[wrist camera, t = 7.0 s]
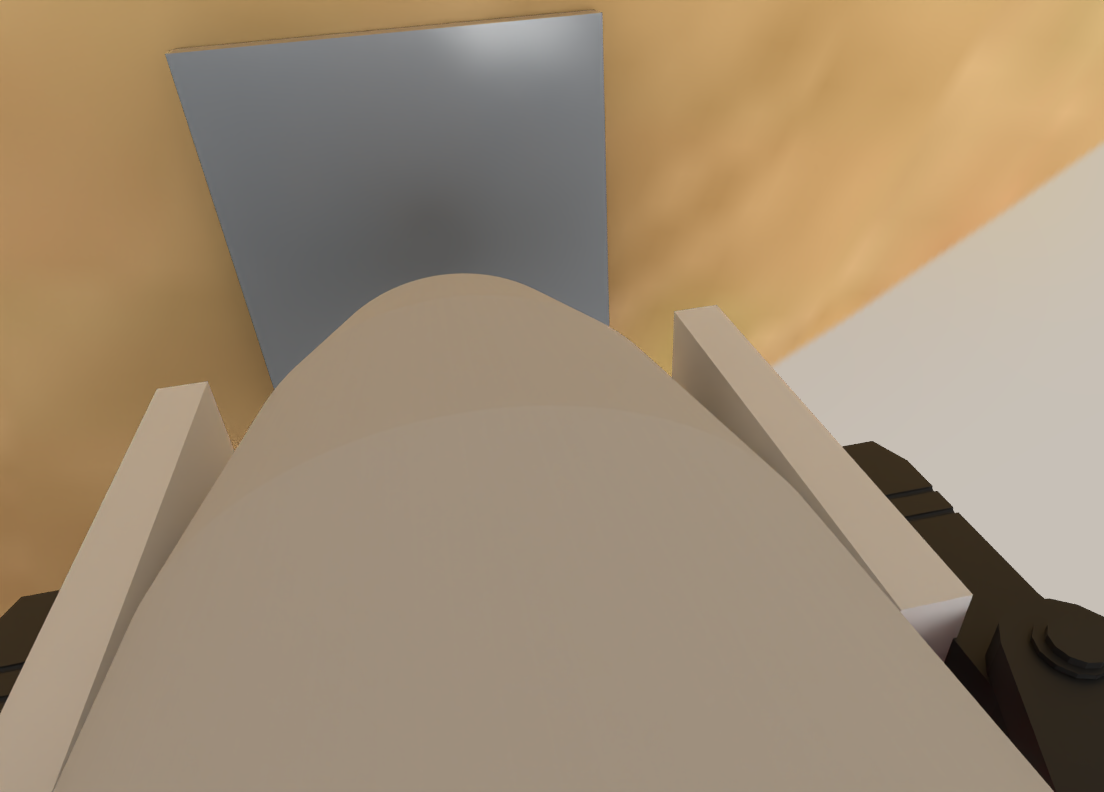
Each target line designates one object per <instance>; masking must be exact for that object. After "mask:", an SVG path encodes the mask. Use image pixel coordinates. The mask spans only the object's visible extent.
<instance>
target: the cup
mask: <svg viewBox="0 0 1104 792" xmlns="http://www.w3.org/2000/svg"><path fill="white" fill-rule="evenodd" d="M53 792H1054V791H1053V790H1052V789H1051V788H1050V786H1049V785H1048V784H1047V783H1046V782H1045V781H1044V779H1043V778H1042V777H1041V776H1040V775H1039V774H1038V772H1037V771H1036V770H1035V769H1034V768H1033V767H1032V765H1031V764H1030V763H1029V762H1028V761H1027V759H1026V758H1025V757H1024V756H1023V755H1022V754H1021V752H1020V751H1019V750H1018V749H1017V748H1016V747H1015V745H1014V744H1013V743H1012V742H1011V741H1010V740H1009V738H1008V737H1007V736H1006V735H1005V734H1004V733H1003V731H1002V730H1001V729H1000V728H999V727H998V726H997V724H996V723H995V722H994V721H993V720H992V719H991V717H990V716H989V715H988V714H987V713H986V712H985V710H984V709H983V708H982V707H981V706H980V705H979V703H978V702H977V701H976V700H975V699H974V698H973V696H972V695H971V694H970V693H969V692H968V690H967V689H966V688H965V687H964V686H963V685H962V683H961V682H960V681H959V680H958V679H957V678H956V676H955V675H954V674H953V673H952V672H951V671H950V669H949V668H948V667H947V666H946V665H945V664H944V662H943V661H942V660H941V659H940V658H939V657H938V655H937V654H936V653H935V652H934V651H933V650H932V648H931V647H930V646H929V645H928V644H927V643H926V641H925V640H924V639H923V638H922V637H921V636H920V634H919V633H918V632H917V631H916V630H915V629H914V627H913V626H912V625H911V624H910V623H909V621H908V620H907V619H906V618H905V617H904V616H903V614H902V613H901V612H900V611H899V610H898V609H897V607H896V606H895V605H894V604H893V603H892V602H891V600H890V599H889V598H888V597H887V596H886V595H885V593H884V592H883V591H882V590H881V589H880V588H879V586H878V585H877V584H876V583H875V582H874V581H873V579H872V578H871V577H870V576H869V575H868V574H867V572H866V571H865V570H864V569H863V568H862V567H861V565H860V564H859V563H858V562H857V561H856V560H855V558H854V557H853V556H852V555H851V554H850V552H849V551H848V550H847V549H846V548H845V547H844V545H843V544H842V543H841V542H840V541H839V540H838V538H837V537H836V536H835V535H834V534H833V533H832V531H831V530H830V529H829V528H828V527H827V526H826V524H825V523H824V522H823V521H822V520H821V519H820V517H819V516H818V515H817V514H816V513H815V512H814V510H813V509H812V508H811V507H810V506H809V505H808V503H807V502H806V501H805V500H804V499H803V498H802V496H801V495H800V494H799V493H798V492H797V491H796V490H795V489H794V488H793V487H792V486H791V485H790V484H789V483H788V482H787V481H786V480H785V479H784V478H783V477H782V476H781V475H779V474H778V473H777V472H776V471H775V470H774V469H773V468H772V467H771V466H769V465H768V464H767V463H766V462H765V461H764V460H763V459H762V458H761V457H759V456H758V455H757V454H756V453H755V452H754V451H753V450H752V449H751V448H749V447H748V446H747V445H746V444H745V443H744V442H743V441H742V440H741V439H739V438H738V437H737V436H736V435H735V434H734V433H733V432H732V431H731V430H729V429H728V428H727V427H726V426H725V425H724V424H723V423H722V422H721V421H719V420H718V419H717V418H716V417H715V416H714V415H713V414H712V413H711V412H709V411H708V410H707V409H706V408H705V407H704V406H703V405H702V404H700V403H699V402H698V401H697V400H696V399H695V398H694V397H693V396H692V395H690V394H689V393H688V392H687V391H686V390H685V389H684V388H683V387H682V386H680V385H679V384H678V383H677V382H676V381H675V380H674V379H673V378H672V377H670V376H669V375H668V374H667V373H666V372H665V371H664V370H663V369H662V368H660V367H659V366H658V365H657V364H656V363H655V362H654V361H653V360H652V359H650V358H649V357H648V356H647V355H646V354H645V353H644V352H643V351H642V350H640V349H639V348H638V347H637V346H636V345H635V344H633V343H632V342H631V341H630V340H628V339H627V338H626V337H624V336H623V335H621V334H620V333H618V332H617V331H615V330H614V329H612V328H610V327H609V326H607V325H605V324H603V323H602V322H600V321H598V320H596V319H594V318H592V317H590V316H588V315H586V314H584V313H582V312H580V311H577V310H575V309H573V308H571V307H569V306H567V305H565V304H563V303H561V302H559V301H557V300H555V299H553V298H551V297H549V296H547V295H545V294H543V293H541V292H539V291H537V290H535V289H533V288H531V287H528V286H526V285H524V284H521V283H518V282H515V281H512V280H509V279H505V278H501V277H496V276H490V275H483V274H468V273H460V274H445V275H437V276H431V277H427V278H422V279H419V280H415V281H412V282H409V283H406V284H403V285H400V286H398V287H396V288H393V289H391V290H389V291H387V292H385V293H383V294H381V295H379V296H378V297H376V298H374V299H373V300H371V301H370V302H368V303H367V304H365V305H364V306H363V307H361V308H360V309H359V310H358V311H356V312H355V313H354V314H353V315H352V316H351V317H350V318H349V319H348V320H346V321H345V322H344V323H343V324H342V325H341V326H340V327H339V328H338V329H336V330H335V331H334V332H333V333H332V334H331V335H330V336H329V337H328V338H327V339H325V340H324V341H323V342H322V343H321V344H320V345H319V346H318V347H317V348H316V349H314V350H313V351H312V352H311V353H310V354H309V355H308V356H307V357H306V358H305V359H303V360H302V361H301V362H300V363H299V364H298V365H297V366H296V367H295V368H294V369H293V370H292V371H291V372H290V373H289V374H288V375H287V376H286V377H285V378H284V379H283V380H282V381H281V382H280V383H279V385H278V386H277V387H276V388H275V390H274V391H273V392H272V393H271V395H270V396H269V397H268V399H267V400H266V402H265V403H264V405H263V406H262V408H261V410H260V411H259V413H258V414H257V416H256V418H255V419H254V421H253V422H252V424H251V426H250V427H249V429H248V431H247V432H246V434H245V435H244V437H243V439H242V440H241V442H240V443H239V445H238V447H237V448H236V450H235V451H234V453H233V455H232V456H231V458H230V459H229V461H228V463H227V464H226V466H225V467H224V469H223V471H222V472H221V474H220V476H219V477H218V479H217V480H216V482H215V484H214V485H213V487H212V488H211V490H210V492H209V493H208V495H207V496H206V498H205V500H204V501H203V503H202V504H201V506H200V508H199V509H198V511H197V512H196V514H195V516H194V517H193V519H192V521H191V522H190V524H189V525H188V527H187V529H186V530H185V532H184V533H183V535H182V537H181V538H180V540H179V541H178V543H177V545H176V546H175V548H174V549H173V551H172V553H171V554H170V556H169V557H168V559H167V561H166V562H165V564H164V566H163V567H162V569H161V570H160V572H159V574H158V575H157V577H156V578H155V580H154V582H153V583H152V585H151V586H150V588H149V590H148V591H147V593H146V594H145V596H144V598H143V599H142V601H141V603H140V604H139V606H138V608H137V610H136V612H135V614H134V616H133V618H132V620H131V622H130V624H129V626H128V629H127V631H126V633H125V635H124V637H123V640H122V642H121V644H120V646H119V648H118V651H117V653H116V655H115V657H114V659H113V662H112V664H111V666H110V668H109V670H108V673H107V675H106V677H105V679H104V681H103V684H102V686H101V688H100V690H99V692H98V695H97V697H96V699H95V701H94V703H93V706H92V708H91V710H90V712H89V714H88V717H87V719H86V721H85V723H84V725H83V728H82V730H81V732H80V734H79V736H78V738H77V741H76V743H75V745H74V747H73V749H72V752H71V754H70V756H69V758H68V760H67V763H66V765H65V767H64V769H63V771H62V774H61V776H60V778H59V780H58V782H57V785H56V787H55V789H54V791H53Z"/></svg>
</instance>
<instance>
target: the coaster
mask: <svg viewBox="0 0 1104 792" xmlns="http://www.w3.org/2000/svg"><path fill="white" fill-rule="evenodd" d="M165 55H166V58H167V61H168V64H169V68H170V71H171V74H172V77H173V80H174V83H175V86H176V89H177V92H178V95H179V98H180V101H181V104H182V108H183V111H184V114H185V117H186V120H187V123H188V126H189V129H190V132H191V135H192V138H193V141H194V144H195V147H196V151H197V154H198V157H199V160H200V163H201V166H202V169H203V172H204V175H205V178H206V181H207V184H208V187H209V190H210V194H211V197H212V200H213V203H214V206H215V209H216V212H217V215H218V218H219V221H220V224H221V227H222V230H223V233H224V237H225V240H226V243H227V246H228V249H229V252H230V255H231V258H232V261H233V264H234V267H235V270H236V273H237V277H238V280H239V283H240V286H241V289H242V292H243V295H244V298H245V301H246V304H247V307H248V310H249V313H250V316H251V320H252V323H253V326H254V329H255V332H256V335H257V338H258V341H259V344H260V347H261V350H262V353H263V356H264V359H265V363H266V366H267V369H268V372H269V375H270V378H271V381H272V384H273V387H274V390H275V388H276V387H277V386H278V385H279V383H280V382H281V381H282V380H283V379H284V378H285V377H286V376H287V375H288V374H289V373H290V372H291V371H292V370H293V369H294V368H295V367H296V366H297V365H298V364H299V363H300V362H301V361H302V360H303V359H305V358H306V357H307V356H308V355H309V354H310V353H311V352H312V351H313V350H314V349H316V348H317V347H318V346H319V345H320V344H321V343H322V342H323V341H324V340H325V339H327V338H328V337H329V336H330V335H331V334H332V333H333V332H334V331H335V330H336V329H338V328H339V327H340V326H341V325H342V324H343V323H344V322H345V321H346V320H348V319H349V318H350V317H351V316H352V315H353V314H354V313H355V312H356V311H358V310H359V309H360V308H361V307H363V306H364V305H365V304H367V303H368V302H370V301H371V300H373V299H374V298H376V297H378V296H379V295H381V294H383V293H385V292H387V291H389V290H391V289H393V288H396V287H398V286H400V285H403V284H406V283H409V282H412V281H415V280H419V279H422V278H427V277H431V276H437V275H445V274H460V273H468V274H483V275H490V276H496V277H501V278H505V279H509V280H512V281H515V282H518V283H521V284H524V285H526V286H528V287H531V288H533V289H535V290H537V291H539V292H541V293H543V294H545V295H547V296H549V297H551V298H553V299H555V300H557V301H559V302H561V303H563V304H565V305H567V306H569V307H571V308H573V309H575V310H577V311H580V312H582V313H584V314H586V315H588V316H590V317H592V318H594V319H596V320H598V321H600V322H602V323H603V324H605V325H607V326H609V294H608V249H607V203H606V158H605V112H604V66H603V21H602V12H599V11H596V10H584V11H574V12H563V13H553V14H542V15H531V16H521V17H510V18H499V19H489V20H478V21H467V22H457V23H446V24H435V25H425V26H414V27H403V28H393V29H382V30H371V31H361V32H350V33H339V34H329V35H318V36H308V37H297V38H286V39H276V40H265V41H254V42H244V43H233V44H222V45H212V46H201V47H190V48H180V49H173V50H171V51H169V52H168V53H166V54H165Z"/></svg>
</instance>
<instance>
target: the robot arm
mask: <svg viewBox="0 0 1104 792" xmlns="http://www.w3.org/2000/svg"><path fill="white" fill-rule="evenodd" d="M672 378H673V379H674V380H675V381H676V382H677V383H678V384H679V385H680V386H682V387H683V388H684V389H685V390H686V391H687V392H688V393H689V394H690V395H692V396H693V397H694V398H695V399H696V400H697V401H698V402H699V403H700V404H702V405H703V406H704V407H705V408H706V409H707V410H708V411H709V412H711V413H712V414H713V415H714V416H715V417H716V418H717V419H718V420H719V421H721V422H722V423H723V424H724V425H725V426H726V427H727V428H728V429H729V430H731V431H732V432H733V433H734V434H735V435H736V436H737V437H738V438H739V439H741V440H742V441H743V442H744V443H745V444H746V445H747V446H748V447H749V448H751V449H752V450H753V451H754V452H755V453H756V454H757V455H758V456H759V457H761V458H762V459H763V460H764V461H765V462H766V463H767V464H768V465H769V466H771V467H772V468H773V469H774V470H775V471H776V472H777V473H778V474H779V475H781V476H782V477H783V478H784V479H785V480H786V481H787V482H788V483H789V484H790V485H791V486H792V487H793V488H794V489H795V490H796V491H797V492H798V493H799V494H800V495H801V496H802V498H803V499H804V500H805V501H806V502H807V503H808V505H809V506H810V507H811V508H812V509H813V510H814V512H815V513H816V514H817V515H818V516H819V517H820V519H821V520H822V521H823V522H824V523H825V524H826V526H827V527H828V528H829V529H830V530H831V531H832V533H833V534H834V535H835V536H836V537H837V538H838V540H839V541H840V542H841V543H842V544H843V545H844V547H845V548H846V549H847V550H848V551H849V552H850V554H851V555H852V556H853V557H854V558H855V560H856V561H857V562H858V563H859V564H860V565H861V567H862V568H863V569H864V570H865V571H866V572H867V574H868V575H869V576H870V577H871V578H872V579H873V581H874V582H875V583H876V584H877V585H878V586H879V588H880V589H881V590H882V591H883V592H884V593H885V595H886V596H887V597H888V598H889V599H890V600H891V602H892V603H893V604H894V605H895V606H896V607H897V609H898V610H899V611H900V612H901V613H902V614H903V616H904V617H905V618H906V619H907V620H908V621H909V623H910V624H911V625H912V626H913V627H914V629H915V630H916V631H917V632H918V633H919V634H920V636H921V637H922V638H923V639H924V640H925V641H926V643H927V644H928V645H929V646H930V647H931V648H932V650H933V651H934V652H935V653H936V654H937V655H938V657H939V658H940V659H941V660H942V661H943V662H944V664H945V665H946V666H947V667H948V668H949V669H950V671H951V672H952V673H953V674H954V675H955V676H956V678H957V679H958V680H959V681H960V682H961V683H962V685H963V686H964V687H965V688H966V689H967V690H968V692H969V693H970V694H971V695H972V696H973V698H974V699H975V700H976V701H977V702H978V703H979V705H980V706H981V707H982V708H983V709H984V710H985V712H986V713H987V714H988V715H989V716H990V717H991V719H992V720H993V721H994V722H995V723H996V724H997V726H998V727H999V728H1000V729H1001V730H1002V731H1003V733H1004V734H1005V735H1006V736H1007V737H1008V738H1009V740H1010V741H1011V742H1012V743H1013V744H1014V745H1015V747H1016V748H1017V749H1018V750H1019V751H1020V752H1021V754H1022V755H1023V756H1024V757H1025V758H1026V759H1027V761H1028V762H1029V763H1030V764H1031V765H1032V767H1033V768H1034V769H1035V770H1036V771H1037V772H1038V774H1039V775H1040V776H1041V777H1042V778H1043V779H1044V781H1045V782H1046V783H1047V784H1048V785H1049V786H1050V788H1051V789H1052V790H1053V791H1054V792H1104V617H1103V616H1101V615H1098V614H1096V613H1094V612H1092V611H1090V610H1088V609H1086V608H1083V607H1081V606H1079V605H1076V604H1071V603H1067V602H1062V601H1057V600H1053V599H1044V598H1043V597H1042V596H1041V595H1039V594H1038V593H1037V592H1036V591H1035V590H1034V589H1033V588H1032V587H1031V586H1030V585H1029V584H1028V583H1027V582H1026V581H1025V580H1024V579H1023V578H1022V577H1021V576H1020V575H1019V574H1018V573H1017V572H1016V571H1015V570H1014V569H1013V568H1012V567H1011V565H1009V563H1007V561H1005V560H1004V558H1003V557H1002V556H1001V555H1000V554H999V553H998V552H997V551H996V550H995V549H994V548H993V547H992V546H991V545H990V544H989V543H988V542H987V541H986V540H985V539H984V538H983V537H982V536H981V535H980V534H979V533H978V532H977V531H976V530H975V529H974V528H973V527H972V526H971V525H970V524H969V523H968V522H967V521H966V520H965V519H964V518H963V517H962V516H961V515H960V514H959V513H954V511H953V507H952V506H951V504H950V503H949V502H947V501H946V499H945V498H943V496H942V495H941V494H940V493H939V492H938V491H935V492H934V491H933V489H932V485H931V484H930V483H929V482H928V481H927V480H926V479H925V478H924V477H923V476H922V475H921V474H920V473H919V472H918V471H917V470H916V469H915V468H914V467H913V466H912V465H911V464H910V463H909V462H908V461H907V460H905V459H904V458H902V457H900V456H898V455H896V454H895V453H893V452H891V451H889V450H887V449H886V448H884V447H882V446H880V445H878V444H877V443H875V442H873V441H870V442H865V443H860V444H854V445H848V446H843V447H842V446H841V445H840V444H839V443H838V442H837V441H836V439H835V438H834V437H833V436H832V435H831V434H830V433H829V431H828V430H827V429H826V428H825V427H824V426H823V425H822V424H821V423H820V421H819V420H818V419H817V418H816V417H815V416H814V415H813V413H812V412H811V411H810V410H809V409H808V408H807V407H806V406H805V405H804V403H803V402H802V401H801V400H800V399H799V398H798V396H797V395H796V394H795V393H794V392H793V391H792V390H791V389H790V388H789V386H788V385H787V384H786V383H785V382H784V381H783V380H782V378H781V377H780V376H779V375H778V374H777V373H776V372H775V371H774V369H773V368H772V367H771V366H770V365H769V364H768V363H767V361H766V360H765V359H764V358H763V357H762V356H761V355H760V353H759V352H758V351H757V350H756V349H755V348H754V347H753V346H752V344H751V343H750V342H749V341H748V340H747V339H746V338H745V337H744V335H743V334H742V333H741V332H740V331H739V330H738V329H737V327H736V326H735V325H734V324H733V323H732V322H731V321H730V320H729V318H728V317H727V316H726V315H725V314H724V313H723V312H722V311H721V309H720V308H719V307H718V306H717V305H713V306H706V307H700V308H693V309H686V310H679V311H674V334H673V364H672ZM233 453H234V449H233V446H232V444H231V441H230V438H229V436H228V433H227V430H226V428H225V425H224V423H223V420H222V417H221V415H220V412H219V410H218V407H217V404H216V402H215V399H214V397H213V394H212V391H211V389H210V386H209V383H208V381H206V382H199V383H193V384H186V385H179V386H173V387H166V388H159V389H157V390H156V392H155V394H154V396H153V398H152V400H151V402H150V404H149V406H148V408H147V410H146V413H145V415H144V417H143V419H142V421H141V423H140V425H139V427H138V429H137V431H136V433H135V435H134V437H133V440H132V442H131V444H130V446H129V448H128V450H127V452H126V454H125V456H124V458H123V460H122V462H121V464H120V466H119V469H118V471H117V473H116V475H115V477H114V479H113V481H112V483H111V485H110V487H109V489H108V491H107V493H106V495H105V498H104V500H103V502H102V504H101V506H100V508H99V510H98V512H97V514H96V516H95V518H94V520H93V522H92V525H91V527H90V529H89V531H88V533H87V535H86V537H85V539H84V541H83V543H82V545H81V547H80V549H79V551H78V554H77V556H76V558H75V560H74V562H73V564H72V566H71V568H70V570H69V572H68V574H67V576H66V578H65V580H64V583H63V585H62V587H61V589H60V590H58V591H52V592H47V593H41V594H36V595H30V596H24V597H21V598H20V599H19V600H18V601H17V602H16V603H15V604H14V605H13V606H12V607H11V608H10V609H9V610H8V611H7V612H6V613H5V614H4V615H3V616H2V617H1V618H0V792H53V791H54V789H55V787H56V785H57V782H58V780H59V778H60V776H61V774H62V771H63V769H64V767H65V765H66V763H67V760H68V758H69V756H70V754H71V752H72V749H73V747H74V745H75V743H76V741H77V738H78V736H79V734H80V732H81V730H82V728H83V725H84V723H85V721H86V719H87V717H88V714H89V712H90V710H91V708H92V706H93V703H94V701H95V699H96V697H97V695H98V692H99V690H100V688H101V686H102V684H103V681H104V679H105V677H106V675H107V673H108V670H109V668H110V666H111V664H112V662H113V659H114V657H115V655H116V653H117V651H118V648H119V646H120V644H121V642H122V640H123V637H124V635H125V633H126V631H127V629H128V626H129V624H130V622H131V620H132V618H133V616H134V614H135V612H136V610H137V608H138V606H139V604H140V603H141V601H142V599H143V598H144V596H145V594H146V593H147V591H148V590H149V588H150V586H151V585H152V583H153V582H154V580H155V578H156V577H157V575H158V574H159V572H160V570H161V569H162V567H163V566H164V564H165V562H166V561H167V559H168V557H169V556H170V554H171V553H172V551H173V549H174V548H175V546H176V545H177V543H178V541H179V540H180V538H181V537H182V535H183V533H184V532H185V530H186V529H187V527H188V525H189V524H190V522H191V521H192V519H193V517H194V516H195V514H196V512H197V511H198V509H199V508H200V506H201V504H202V503H203V501H204V500H205V498H206V496H207V495H208V493H209V492H210V490H211V488H212V487H213V485H214V484H215V482H216V480H217V479H218V477H219V476H220V474H221V472H222V471H223V469H224V467H225V466H226V464H227V463H228V461H229V459H230V458H231V456H232V455H233Z"/></svg>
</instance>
